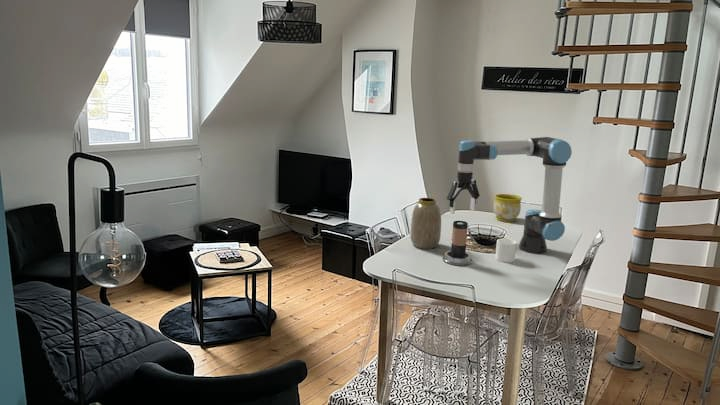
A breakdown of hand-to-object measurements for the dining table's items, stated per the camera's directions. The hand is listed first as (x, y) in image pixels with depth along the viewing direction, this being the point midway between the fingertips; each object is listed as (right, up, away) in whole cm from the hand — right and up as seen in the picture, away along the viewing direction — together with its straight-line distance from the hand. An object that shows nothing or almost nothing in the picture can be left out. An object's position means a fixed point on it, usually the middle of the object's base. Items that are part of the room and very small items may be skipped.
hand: (462, 211), depth 271 cm
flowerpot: (+48, -7, +92) cm, 104 cm away
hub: (-2, -26, +6) cm, 27 cm away
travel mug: (-1, -25, +6) cm, 26 cm away
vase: (-16, -20, +30) cm, 40 cm away
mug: (+26, -26, +11) cm, 38 cm away
